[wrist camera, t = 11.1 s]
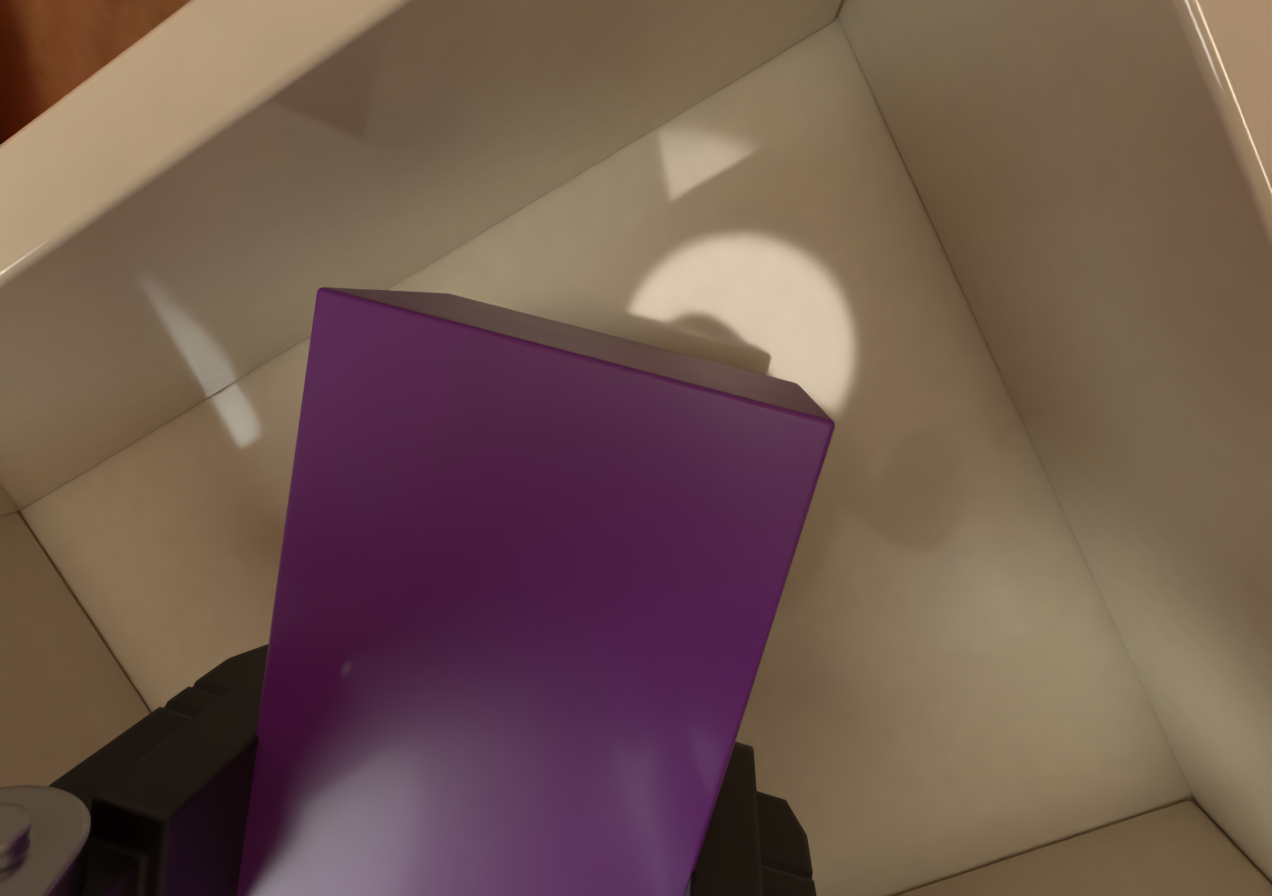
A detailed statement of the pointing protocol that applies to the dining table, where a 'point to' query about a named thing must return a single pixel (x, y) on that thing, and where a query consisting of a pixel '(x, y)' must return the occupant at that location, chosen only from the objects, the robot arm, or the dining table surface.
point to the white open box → (724, 333)
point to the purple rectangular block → (515, 603)
